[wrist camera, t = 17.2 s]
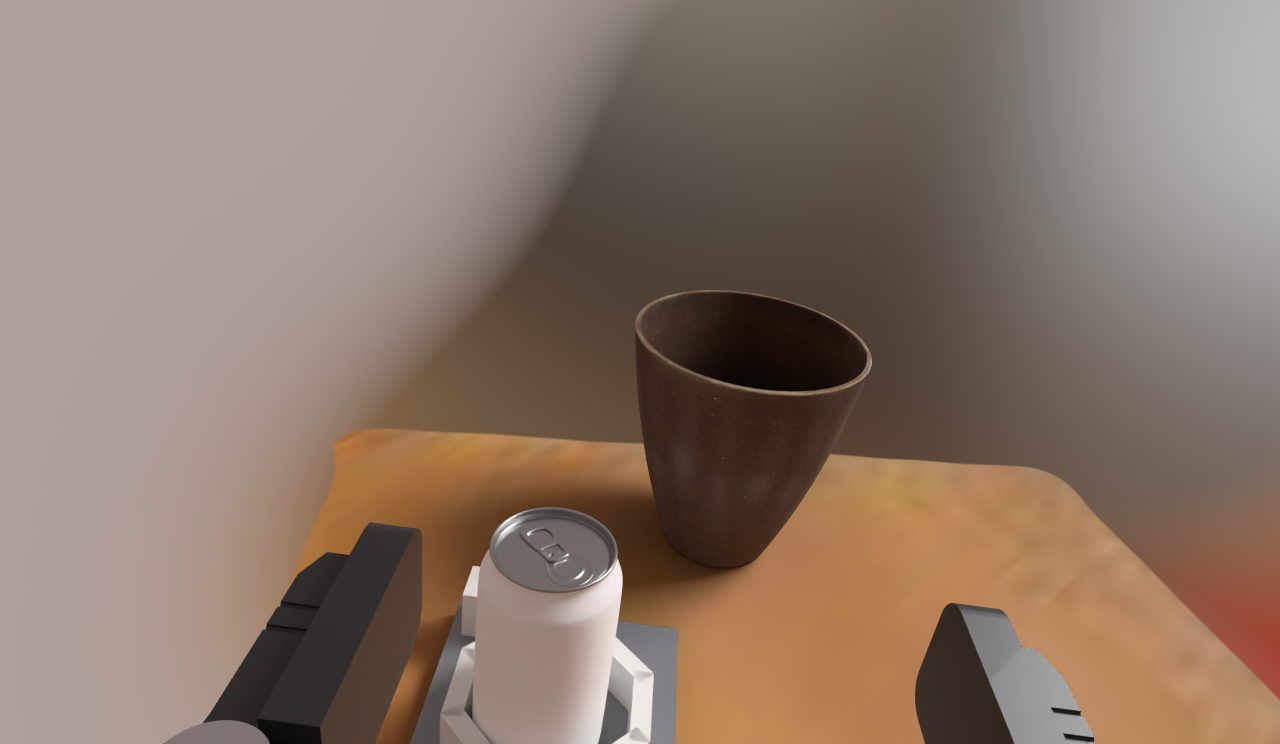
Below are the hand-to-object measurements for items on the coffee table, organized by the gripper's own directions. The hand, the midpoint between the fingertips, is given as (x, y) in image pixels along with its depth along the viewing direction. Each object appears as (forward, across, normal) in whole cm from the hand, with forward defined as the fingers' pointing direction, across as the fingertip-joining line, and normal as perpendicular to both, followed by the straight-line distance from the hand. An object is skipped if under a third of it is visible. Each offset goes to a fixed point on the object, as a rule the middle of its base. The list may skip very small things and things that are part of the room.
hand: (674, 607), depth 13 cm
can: (+19, +4, +27) cm, 33 cm away
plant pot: (+38, -6, +28) cm, 48 cm away
